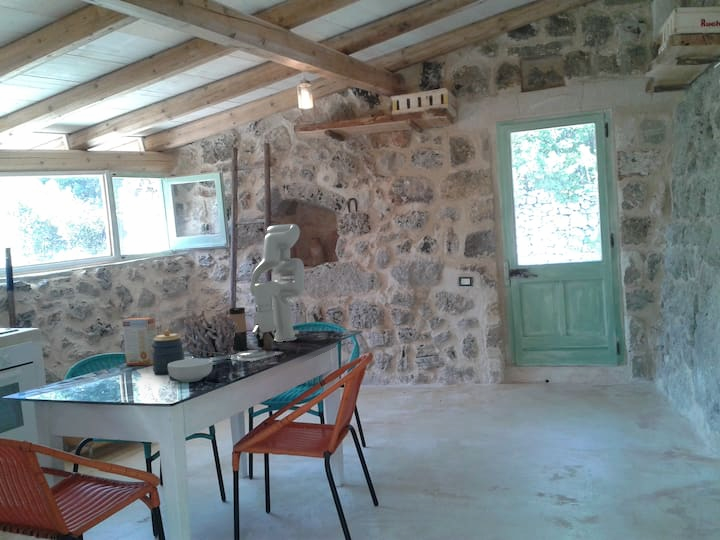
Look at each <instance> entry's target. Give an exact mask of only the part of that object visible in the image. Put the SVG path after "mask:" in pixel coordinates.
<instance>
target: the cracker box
mask: <svg viewBox="0 0 720 540" xmlns="http://www.w3.org/2000/svg"><path fill="white" fill-rule="evenodd" d="M155 319H156V318H155V317H129V318H124V319H122V330H123V331H122V332H123V343H124V354H125V365H126V366H146V367H147V366H149V367H150V366H153V355H152V353H153V347H152V346H151V345H152V344H153V343H154V341H153V339H154V338H156V336H157V331H156V322H155V321H156V320H155Z"/></svg>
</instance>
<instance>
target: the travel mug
mask: <svg viewBox="0 0 720 540" xmlns="http://www.w3.org/2000/svg"><path fill="white" fill-rule="evenodd" d="M228 312H229V313H228V314H229V319H230V318H231V319H232V320H233V321H234V322H235V323H237V330H236V332H235V337H234V345H233V349H232V351H243V350H242V349H244V350H247V349H248V336H247V335H248V334H247V321H246V312H245V307H230V308H229V309H228ZM246 348H247V349H246Z"/></svg>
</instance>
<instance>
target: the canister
mask: <svg viewBox="0 0 720 540" xmlns="http://www.w3.org/2000/svg"><path fill="white" fill-rule="evenodd" d="M181 339H182V336H181V335H179V334H177V333H171V331H170V330H169V329H165V330H164V331H163V334H159V335H156V338H154V339H153V341H154V343H153V344H152V345H151V346H152V347H153V353H152V355H153V365H152V367H153V368H152V369H153V370H152V371H153V373H154V375H161V376H162V375H164V376H165V375H166V376H167V375H170V374H169V372H168V364H169V363H171V362H174V361H179V360H185V358H186V357H185V349H184V346H183V345H184V343H185V342H184V341H183V340H181Z"/></svg>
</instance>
